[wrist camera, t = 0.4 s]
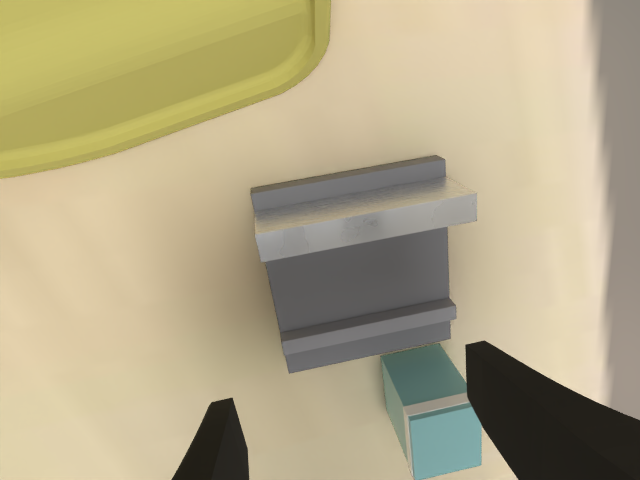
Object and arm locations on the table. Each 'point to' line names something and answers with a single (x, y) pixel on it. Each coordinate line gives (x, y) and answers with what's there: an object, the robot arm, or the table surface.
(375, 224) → the rail
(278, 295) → the grey stand with lip
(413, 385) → the block
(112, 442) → the table surface
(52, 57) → the plastic component
